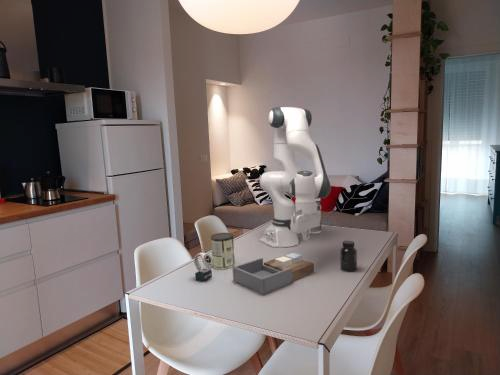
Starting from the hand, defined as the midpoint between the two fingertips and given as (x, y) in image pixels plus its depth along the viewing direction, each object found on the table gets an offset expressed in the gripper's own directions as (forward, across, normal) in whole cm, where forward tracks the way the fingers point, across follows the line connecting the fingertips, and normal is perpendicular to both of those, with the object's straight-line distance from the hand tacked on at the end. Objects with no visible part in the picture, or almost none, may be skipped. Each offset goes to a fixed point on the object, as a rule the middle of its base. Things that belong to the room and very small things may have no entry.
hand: (306, 239), depth 161 cm
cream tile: (+8, -13, +3) cm, 16 cm away
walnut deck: (+12, -10, +3) cm, 16 cm away
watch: (+13, -35, +29) cm, 47 cm away
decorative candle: (+10, +52, +24) cm, 58 cm away
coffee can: (+12, -19, +32) cm, 40 cm away
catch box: (+13, -25, +6) cm, 28 cm away
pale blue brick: (+8, -7, +2) cm, 11 cm away
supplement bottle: (+12, +6, -17) cm, 22 cm away
